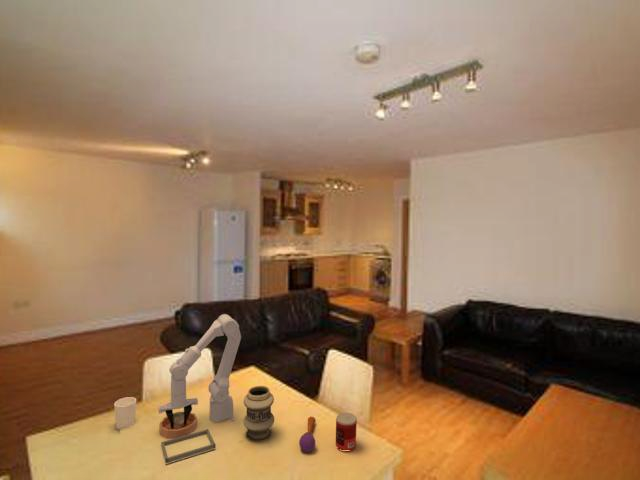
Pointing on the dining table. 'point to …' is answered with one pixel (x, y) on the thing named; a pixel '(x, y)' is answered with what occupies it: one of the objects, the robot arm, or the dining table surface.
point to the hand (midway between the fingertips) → (178, 425)
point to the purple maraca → (308, 437)
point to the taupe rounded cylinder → (178, 420)
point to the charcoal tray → (185, 454)
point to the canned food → (346, 431)
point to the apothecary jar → (258, 413)
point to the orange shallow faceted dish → (170, 433)
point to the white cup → (125, 412)
